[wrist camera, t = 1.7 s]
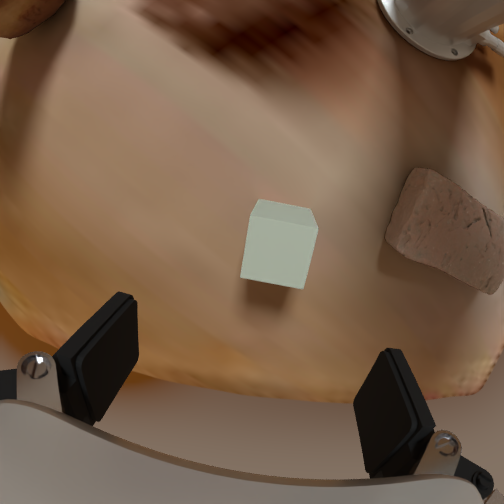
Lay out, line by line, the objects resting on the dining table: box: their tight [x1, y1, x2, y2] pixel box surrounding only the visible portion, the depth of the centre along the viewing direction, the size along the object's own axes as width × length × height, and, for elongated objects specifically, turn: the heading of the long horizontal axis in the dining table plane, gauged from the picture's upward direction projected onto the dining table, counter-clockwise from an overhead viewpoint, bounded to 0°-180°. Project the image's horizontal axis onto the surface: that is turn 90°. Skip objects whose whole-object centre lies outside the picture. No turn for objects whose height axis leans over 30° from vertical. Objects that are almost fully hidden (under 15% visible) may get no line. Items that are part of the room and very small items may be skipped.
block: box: [240, 199, 319, 289], centre depth 25 cm, size 5×5×7 cm
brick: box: [385, 168, 504, 295], centre depth 24 cm, size 17×8×5 cm, turn 72°
